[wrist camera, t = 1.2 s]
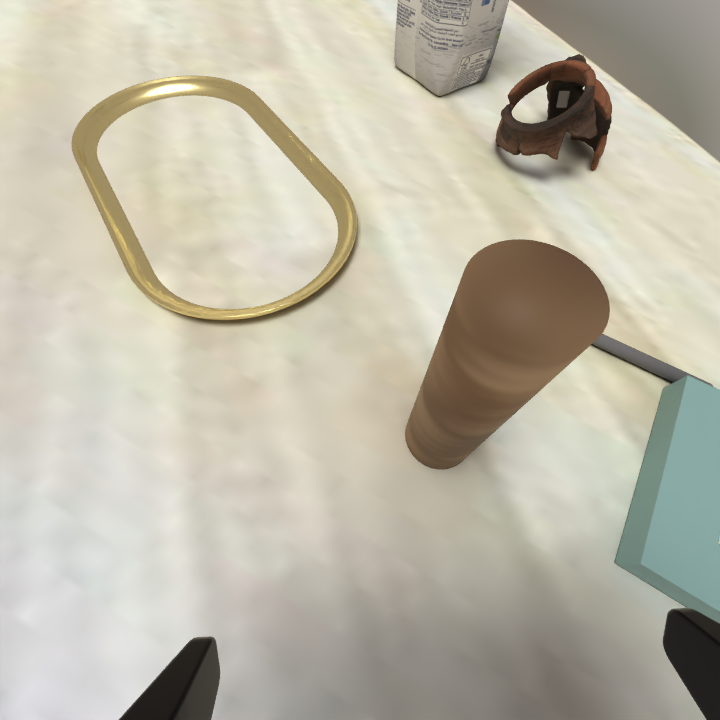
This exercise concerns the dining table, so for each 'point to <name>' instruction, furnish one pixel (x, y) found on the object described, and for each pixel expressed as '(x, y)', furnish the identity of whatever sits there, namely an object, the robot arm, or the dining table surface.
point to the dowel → (503, 344)
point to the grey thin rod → (641, 359)
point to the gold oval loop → (280, 134)
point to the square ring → (679, 500)
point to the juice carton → (447, 41)
